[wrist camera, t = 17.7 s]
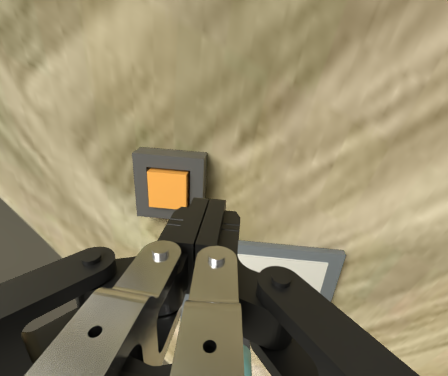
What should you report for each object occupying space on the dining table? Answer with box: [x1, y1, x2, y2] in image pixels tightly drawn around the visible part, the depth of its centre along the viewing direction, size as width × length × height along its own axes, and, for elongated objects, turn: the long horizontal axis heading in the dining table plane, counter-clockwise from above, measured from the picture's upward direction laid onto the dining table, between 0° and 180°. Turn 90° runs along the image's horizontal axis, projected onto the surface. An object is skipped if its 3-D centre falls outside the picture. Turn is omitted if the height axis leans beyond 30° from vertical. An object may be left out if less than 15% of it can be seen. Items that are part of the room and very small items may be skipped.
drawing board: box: [181, 240, 346, 318], centre depth 38 cm, size 22×16×1 cm
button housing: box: [132, 147, 207, 219], centre depth 31 cm, size 8×8×3 cm
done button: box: [147, 167, 190, 209], centre depth 30 cm, size 4×4×2 cm
